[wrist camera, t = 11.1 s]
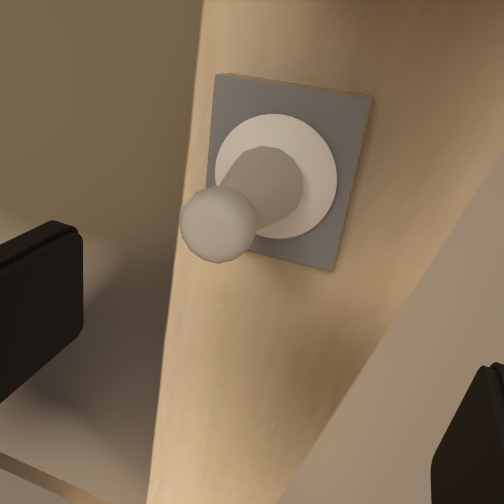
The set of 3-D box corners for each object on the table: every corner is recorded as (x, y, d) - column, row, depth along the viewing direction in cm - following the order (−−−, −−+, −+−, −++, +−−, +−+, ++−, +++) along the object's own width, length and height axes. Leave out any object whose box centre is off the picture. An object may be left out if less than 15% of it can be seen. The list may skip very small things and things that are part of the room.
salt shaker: (252, 220, 38) (183, 288, 27) (229, 154, 36) (145, 196, 25) (319, 202, 36) (274, 270, 24) (297, 131, 34) (237, 167, 23)
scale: (229, 73, 38) (211, 74, 34) (373, 96, 35) (369, 100, 32) (213, 231, 44) (197, 245, 41) (336, 262, 41) (329, 280, 38)
